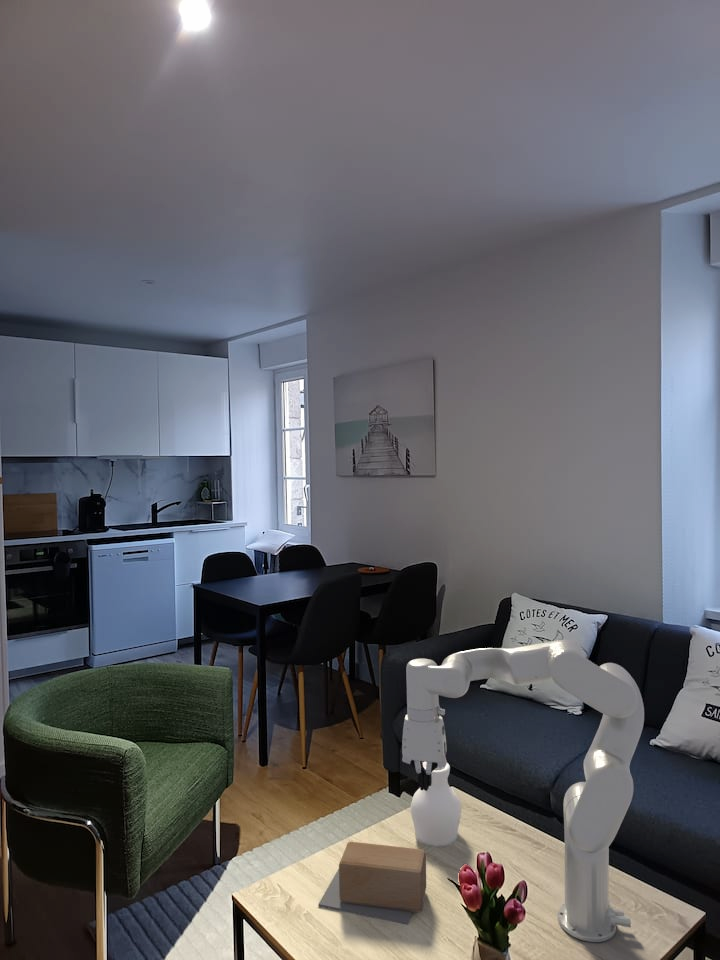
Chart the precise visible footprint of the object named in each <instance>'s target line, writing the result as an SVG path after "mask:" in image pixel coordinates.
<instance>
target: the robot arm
mask: <svg viewBox="0 0 720 960" xmlns="http://www.w3.org/2000/svg"><path fill="white" fill-rule="evenodd" d="M405 672H406V704H407V705H406V706H407V707H406V710H407V712H406V713H407V714H405V717H404V722H403V728H402V740H401V741H402V743H401V744H402V745H401V753H402V759H401V761H402V762H403V763H405V764H408V765H411V767H413V769H414V770H415V771H416V773H417V784H418V785H419V788H420V790H425V791H427V790H428V788H429V786H431V784H432V775H431V772H432V771H433V770H435V769H436V768H437V767H445V766H446V764H447V763H448V761H447V757H446V755H447V738H446V730H445V723H444V719H443V717H442V716H445V714H446V709H445V708H441V707H440V701H439V696H441V697H445V698H452V699H457V698H460V697H463V696H464V695H465V694H467V692H468V690H469V687H470V683H471V682H473V681H479V680H484V679H485V680H488V679H495V680H502V681H505V682H507V683H508V684H510V685H513V686H515V687H516V686H518V687H520V686H527V685H533V684H538V683H545V682H551V681H553V683H555V685H557V686H558V687H559V688H561V689H562V690H563V691H565V692H566V693H568V694H569V695H571V696H572V697H574V698H576V699H578V700H579V701H581V702H582V703H584V704H586V705H588V706H589V707H591V708H592V709H594V710H596V711H598V712H599V713H601V714H602V718H601V720H600V724H599V727H598V729H597V730H596V733H595V736H594V737H593V740H592V742H591V745H590V747H589V749H588V751H587V753H586V755H585V756H584V760H583V771H584V772H583V773H584V778H585V781H579V782H576V783H574V784H571V785H570V786H569V788H567V790H566V792H565V794H564V797H563V805H562V806H563V826H564V827H563V829H564V904H562V905H560V907H559V908H558V911H557V920H558V923H559V925H560V927H561V928H562V929H563V930H564V931H565V932H566V933H567V934H569V935H570V936H572V937H573V938H576V939H578V940H580V941H584V942H589V943H600V942H606V941H608V940H610V939H613V937H614V936H615V934H616V933H617V932H616V931H617V926H620V927H621V926H622V927H624V928H625V927H626V928H631V927H632V926H631V925H632V924H631V923H632V922H631V917H628V916H625V911H624V910H621V909H614V907H611V902H610V899H609V898H610V895H609V894H610V892H609V888H610V887H609V886H610V885H609V884H610V883H609V880H610V879H609V871H610V870H609V868H610V865H609V859H610V858H609V857H610V856H609V855H610V854H609V853H610V851H609V850H610V849H609V847H610V846H611V844H612V843H613V841H614V840H615V838H616V836H617V834H618V833H619V832H618V831H619V829H620V827H621V824H622V822H623V821H624V818H625V816H626V814H627V812H628V810H629V807H630V805H631V802H632V799H633V795H634V780H633V777H632V774H631V771H630V765H631V761H632V759H633V756H634V754H635V751H636V749H637V747H638V743H639V741H640V738H641V736H642V735H641V734H642V731H643V728H644V723H645V707H644V702H643V697H642V694H641V692H640V691H641V690H640V688H639V687H638V684H637V683H636V681H635V679H634V678H633V676H631V674H630V673H629V672H628V671H627V670H626V669H625V668H624V667H623V666H621V665H619V664H618V663H614V662H606V663H603V664H601V665H599V666H598V664H595V662H592V661H591V660H589V659H588V658H587V657H586V655H585V652H584V650H583V649H582V647H580V645H579V644H578V643H576V642H575V641H573V640H571V639H557V640H556V639H555V640H551V641H545V642H540V643H534V644H529V645H524V646H517V647H516V646H515V647H510V648H507V647H506V648H505V647H498V648H497V647H494V648H493V647H487V648H486V647H485V648H475V649H469V650H464V651H458V652H454V653H452V654H450V655H448V656H447V657H445V658H444V659H443V661H442V663H441V665H438V664H437V663H436V662H435V661H434V660H433V659H430V658H429V659H428V658H424V657H423V658H421V657H420V658H415V659H412V660H410V661H408V663H407V664H406V671H405ZM423 762H427V766H426V770H425V768H424V767H423Z"/></svg>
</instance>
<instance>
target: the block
mask: <svg viewBox="0 0 720 960" xmlns="http://www.w3.org/2000/svg"><path fill="white" fill-rule="evenodd" d="M338 869H339V895H340V901H341V902H344V903H352V904H360V905H368V906H376V907H383V908H391V909H399V910H407V911H413V912H416V913H419V912H421V911H422V910H423V905H424V900H425V895H426V890H427V853H426V851H425V849H423V848H413V847H404V846H395V845H393V846H392V845H385V844H376V843H375V844H374V843H367V842H357V841H349V842H347V844H346V846H345V849H344V851H343V854H342V856H341V858H340V861H339V864H338Z"/></svg>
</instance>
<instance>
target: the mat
mask: <svg viewBox="0 0 720 960" xmlns="http://www.w3.org/2000/svg"><path fill="white" fill-rule="evenodd" d="M323 893H324V894H323V895H322V898H321V899H320V900H319V902H318V907H319V908H324V909H329V910H334V911H339V912H343V913H349V914H354V915H359V916H363V917H368V918H373V919H379V920H383V921H387V922H392V923H398V924H403V925H409V923H410V921H411V917H412V915H413V912H414V911H407V910H399V909H391V908H383V907H376V906H368V905H360V904H352V903H344V902H341V901H340V895H339V868H338V869H337V870H336V872H335V874H334V876H333V877H332V879H331V881H330V883H329V885H328V886H327V888H326V890H325V891H324V892H323Z"/></svg>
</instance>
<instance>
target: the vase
mask: <svg viewBox="0 0 720 960" xmlns="http://www.w3.org/2000/svg"><path fill="white" fill-rule="evenodd" d="M426 766H427V762H423V767H424V768H425V770H426ZM450 771H451V766H450V764H449V763H448V762H447V764H446V766H445V767H437V768H436V769H435V770H433V771H432V772H431V775H432V784H431V786H429V788H428V790H427V791H425V790H420V787H418V789H417V790H416V791H415V792H414V794H413V797H412V799H411V800H412V801H411V802H410V814H411V817H412V818H411V819H412V823H413V828H414V835H415V838H416V840H417V841H418V842H420V843H421V844H423V845H426V846H428V847H435V848H441V847H442V848H443V847H447V846H450V845H453V844H454V843H455V842H456V841H457V839H458V833H459V832H458V831H459V827H460V822H461V816H462V803H461V800H460V798H459V797H458V795H457V793H456V792H455V791H454V790H453V788H452V787H450V785H449V782H448V777H449V775H450Z"/></svg>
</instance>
